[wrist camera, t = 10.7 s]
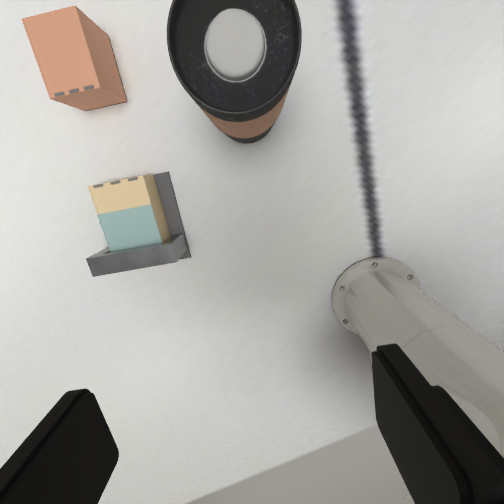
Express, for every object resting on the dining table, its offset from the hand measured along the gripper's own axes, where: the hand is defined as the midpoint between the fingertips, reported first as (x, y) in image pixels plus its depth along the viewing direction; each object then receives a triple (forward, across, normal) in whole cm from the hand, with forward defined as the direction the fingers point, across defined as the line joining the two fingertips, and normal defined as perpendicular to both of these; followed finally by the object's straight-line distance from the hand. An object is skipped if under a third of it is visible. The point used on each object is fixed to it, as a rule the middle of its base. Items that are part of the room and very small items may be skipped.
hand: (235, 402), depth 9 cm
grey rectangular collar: (+30, +15, 0) cm, 34 cm away
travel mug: (+31, -2, -14) cm, 34 cm away
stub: (+30, +15, -22) cm, 40 cm away
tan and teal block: (+30, +15, -4) cm, 34 cm away
